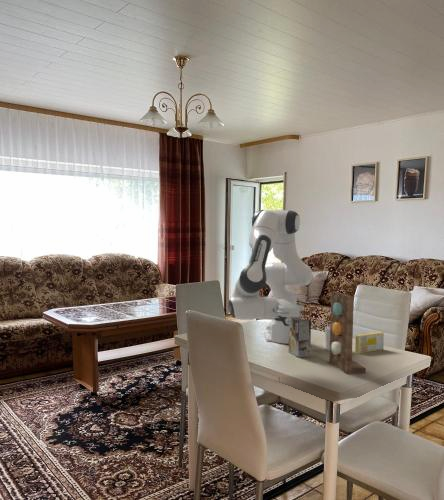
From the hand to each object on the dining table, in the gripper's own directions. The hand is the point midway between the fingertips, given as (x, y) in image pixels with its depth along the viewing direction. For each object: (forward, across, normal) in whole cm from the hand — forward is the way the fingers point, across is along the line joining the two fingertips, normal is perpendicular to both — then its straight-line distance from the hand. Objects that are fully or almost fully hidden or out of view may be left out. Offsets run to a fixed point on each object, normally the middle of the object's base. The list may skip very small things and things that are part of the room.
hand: (303, 307), depth 172 cm
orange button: (+15, 0, +11) cm, 19 cm away
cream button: (+15, 0, +19) cm, 24 cm away
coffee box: (+6, +20, +25) cm, 32 cm away
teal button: (+15, 0, +3) cm, 16 cm away
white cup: (+25, +26, +25) cm, 44 cm away
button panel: (+19, 0, +25) cm, 31 cm away
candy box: (+41, +21, +25) cm, 53 cm away
